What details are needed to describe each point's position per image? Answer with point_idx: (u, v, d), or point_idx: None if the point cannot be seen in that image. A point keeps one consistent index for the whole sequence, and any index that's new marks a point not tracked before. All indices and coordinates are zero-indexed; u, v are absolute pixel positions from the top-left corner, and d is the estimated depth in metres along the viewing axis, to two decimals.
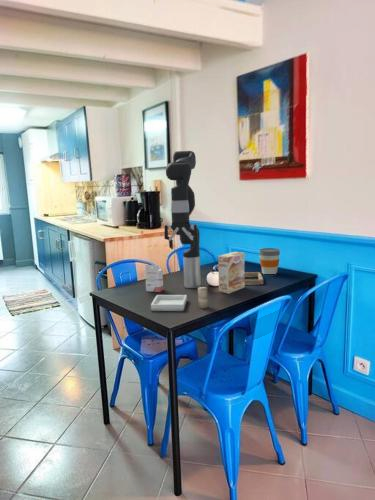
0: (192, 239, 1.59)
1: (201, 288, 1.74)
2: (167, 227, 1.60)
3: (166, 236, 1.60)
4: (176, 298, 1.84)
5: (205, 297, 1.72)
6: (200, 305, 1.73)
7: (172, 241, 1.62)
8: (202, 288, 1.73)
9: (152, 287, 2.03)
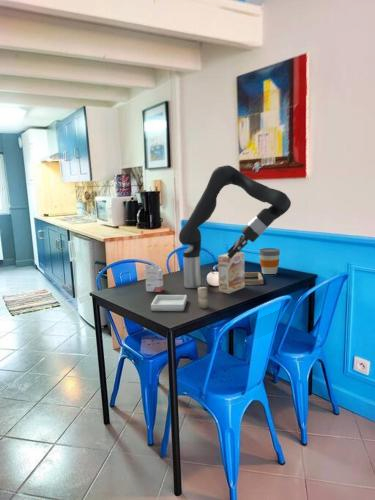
0: None
1: (201, 288, 1.74)
2: None
3: None
4: (176, 298, 1.84)
5: (205, 297, 1.72)
6: (200, 305, 1.73)
7: None
8: (202, 288, 1.73)
9: (152, 287, 2.03)
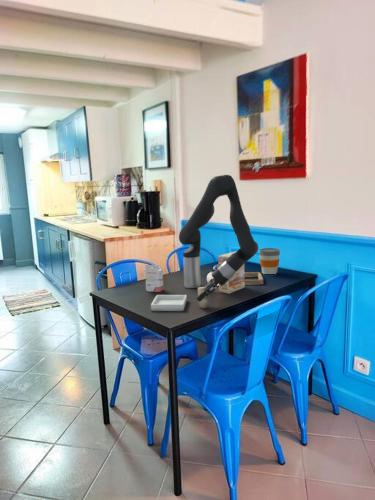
0: None
1: (201, 288, 1.74)
2: None
3: (208, 294, 1.69)
4: (176, 298, 1.84)
5: (205, 297, 1.72)
6: (200, 305, 1.73)
7: None
8: (202, 288, 1.73)
9: (152, 287, 2.03)
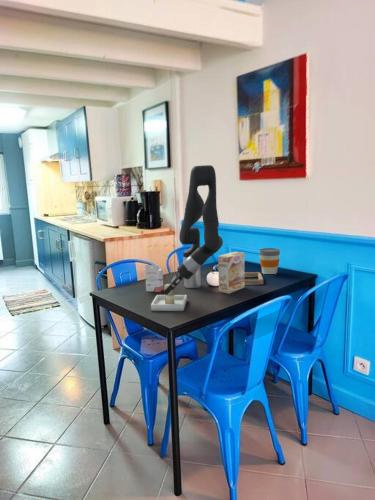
0: None
1: (168, 285, 1.77)
2: None
3: None
4: (176, 298, 1.84)
5: (171, 294, 1.76)
6: (166, 301, 1.76)
7: None
8: None
9: (152, 287, 2.03)
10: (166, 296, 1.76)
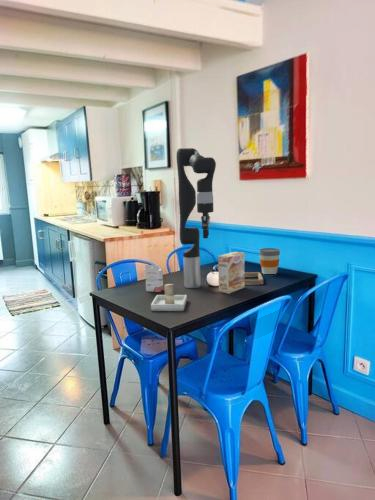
0: (208, 226, 1.79)
1: (168, 284, 1.77)
2: None
3: (207, 226, 1.68)
4: (176, 298, 1.84)
5: (171, 294, 1.76)
6: (166, 301, 1.76)
7: None
8: (169, 285, 1.77)
9: (152, 287, 2.03)
10: (166, 296, 1.76)
